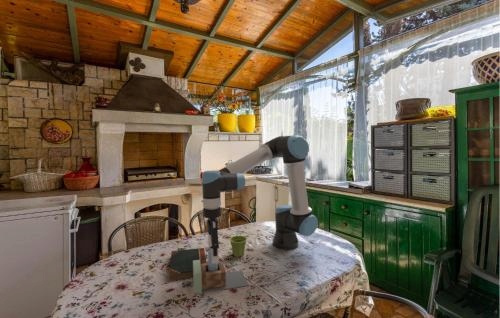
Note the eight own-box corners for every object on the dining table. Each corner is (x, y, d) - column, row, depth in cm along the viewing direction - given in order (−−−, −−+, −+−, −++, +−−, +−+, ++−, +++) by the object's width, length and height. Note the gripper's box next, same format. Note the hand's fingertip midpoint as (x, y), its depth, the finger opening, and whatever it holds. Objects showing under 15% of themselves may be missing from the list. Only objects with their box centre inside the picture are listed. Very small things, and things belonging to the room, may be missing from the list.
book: (171, 257, 134) (168, 282, 109) (171, 250, 133) (168, 274, 109) (204, 253, 138) (208, 276, 114) (204, 247, 138) (208, 269, 113)
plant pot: (244, 259, 130) (244, 242, 129) (227, 257, 132) (227, 241, 131) (248, 251, 139) (248, 236, 138) (232, 250, 141) (232, 235, 140)
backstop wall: (200, 277, 112) (199, 259, 112) (201, 292, 101) (201, 273, 100) (193, 278, 112) (192, 260, 111) (194, 293, 100) (193, 274, 100)
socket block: (222, 273, 114) (222, 261, 114) (225, 285, 104) (225, 272, 104) (200, 277, 111) (199, 263, 111) (201, 289, 102) (201, 275, 101)
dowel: (216, 276, 110) (216, 249, 110) (218, 280, 106) (218, 253, 106) (207, 277, 109) (207, 250, 109) (208, 282, 105) (208, 254, 105)
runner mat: (241, 270, 118) (241, 270, 118) (248, 285, 105) (248, 285, 105) (199, 276, 113) (199, 275, 113) (201, 293, 100) (201, 292, 100)
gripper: (201, 201, 117) (202, 245, 118) (205, 216, 93) (207, 271, 94) (217, 200, 119) (218, 243, 120) (225, 214, 95) (226, 268, 96)
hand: (213, 255), depth 107 cm, fingers open, 13 cm apart
